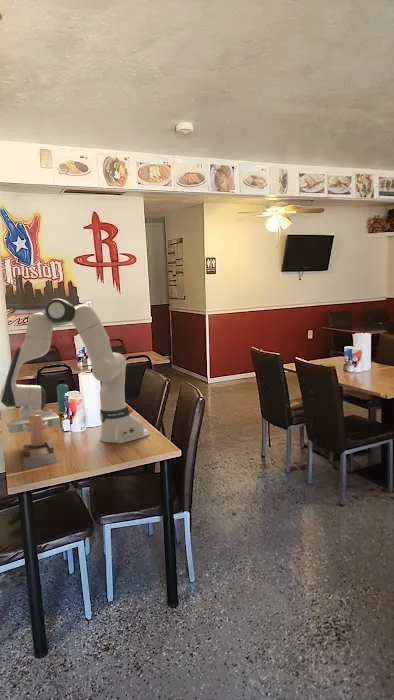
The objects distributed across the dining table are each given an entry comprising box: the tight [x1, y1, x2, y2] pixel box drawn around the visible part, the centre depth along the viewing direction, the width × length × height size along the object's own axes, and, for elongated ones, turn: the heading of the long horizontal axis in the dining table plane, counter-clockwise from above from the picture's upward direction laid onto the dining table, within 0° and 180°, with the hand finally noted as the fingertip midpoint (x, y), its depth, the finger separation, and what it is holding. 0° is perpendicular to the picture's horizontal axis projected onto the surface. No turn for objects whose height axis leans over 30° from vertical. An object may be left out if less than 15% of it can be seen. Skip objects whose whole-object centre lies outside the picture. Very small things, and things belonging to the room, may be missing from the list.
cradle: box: [22, 440, 55, 458], centre depth 200 cm, size 11×11×2 cm
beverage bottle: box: [56, 378, 70, 413], centre depth 259 cm, size 6×7×20 cm
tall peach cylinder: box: [29, 414, 45, 446], centre depth 186 cm, size 5×8×12 cm, turn 26°
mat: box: [22, 452, 58, 469], centre depth 189 cm, size 12×12×1 cm
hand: (36, 428), depth 187 cm, fingers closed on tall peach cylinder, 5 cm apart
